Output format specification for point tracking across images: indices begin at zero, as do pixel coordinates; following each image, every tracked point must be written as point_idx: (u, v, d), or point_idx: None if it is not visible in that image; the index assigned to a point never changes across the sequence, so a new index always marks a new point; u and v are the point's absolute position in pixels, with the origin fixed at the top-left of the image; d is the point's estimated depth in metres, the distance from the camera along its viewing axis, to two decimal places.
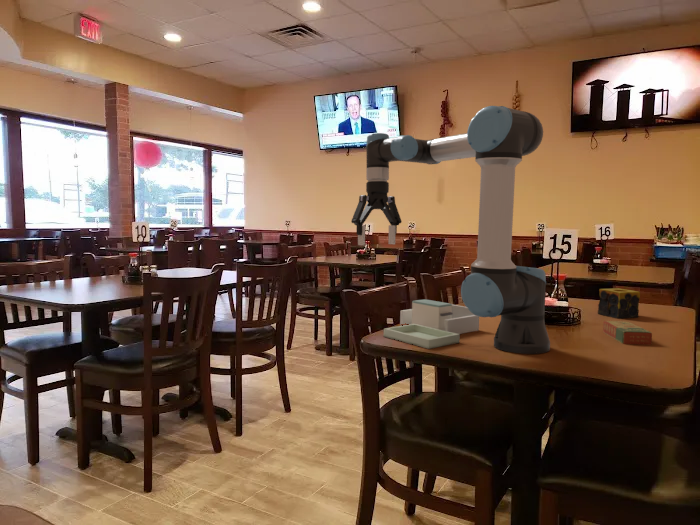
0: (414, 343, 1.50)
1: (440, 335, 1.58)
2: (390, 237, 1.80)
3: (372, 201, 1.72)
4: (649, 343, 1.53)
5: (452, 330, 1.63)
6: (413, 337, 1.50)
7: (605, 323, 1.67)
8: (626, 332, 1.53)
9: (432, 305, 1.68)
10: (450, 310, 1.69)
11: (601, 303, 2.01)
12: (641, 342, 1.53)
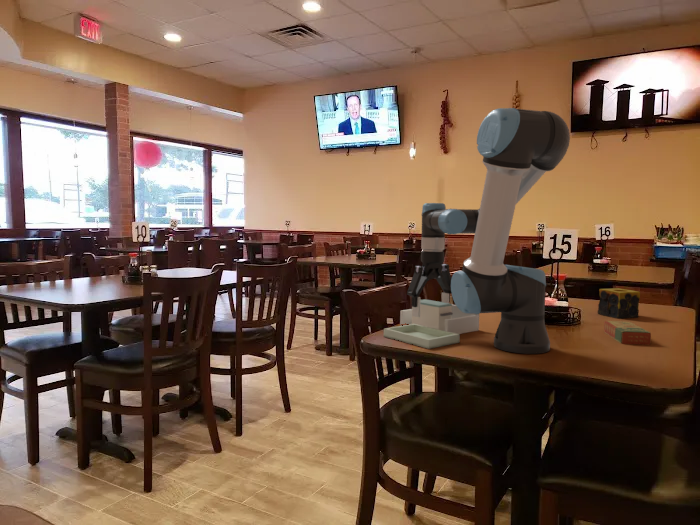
0: (414, 343, 1.50)
1: (440, 335, 1.58)
2: None
3: (427, 272, 1.69)
4: (648, 343, 1.53)
5: (452, 330, 1.63)
6: (413, 337, 1.50)
7: (606, 323, 1.67)
8: (624, 332, 1.53)
9: (432, 305, 1.68)
10: (450, 310, 1.69)
11: (601, 303, 2.01)
12: (640, 342, 1.53)
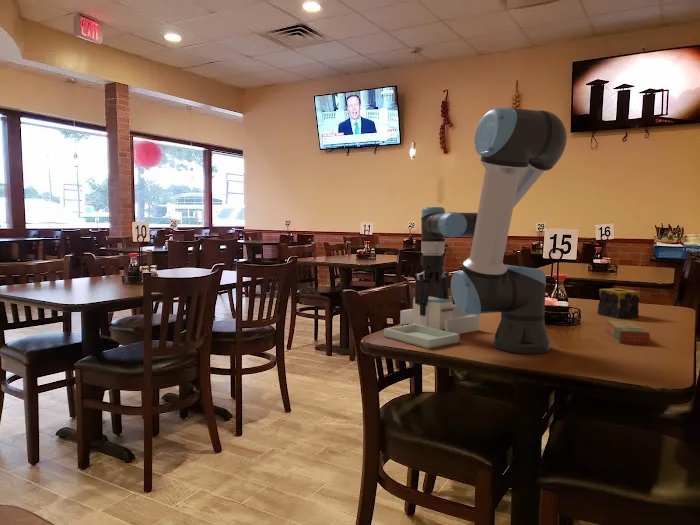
0: (414, 343, 1.50)
1: (440, 335, 1.58)
2: None
3: (428, 276, 1.68)
4: (647, 343, 1.52)
5: (452, 330, 1.63)
6: (413, 337, 1.50)
7: (606, 323, 1.67)
8: (623, 332, 1.54)
9: (433, 301, 1.67)
10: (451, 306, 1.68)
11: (601, 303, 2.01)
12: (639, 342, 1.53)
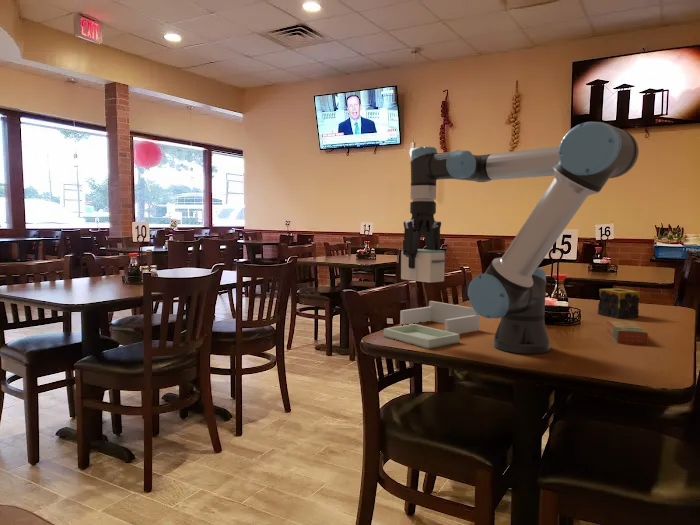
0: (414, 343, 1.50)
1: (440, 335, 1.58)
2: None
3: (417, 224, 1.52)
4: (645, 343, 1.52)
5: (452, 330, 1.63)
6: (413, 337, 1.50)
7: (607, 323, 1.68)
8: (621, 331, 1.54)
9: (423, 251, 1.50)
10: (443, 257, 1.52)
11: (601, 303, 2.01)
12: (637, 342, 1.53)
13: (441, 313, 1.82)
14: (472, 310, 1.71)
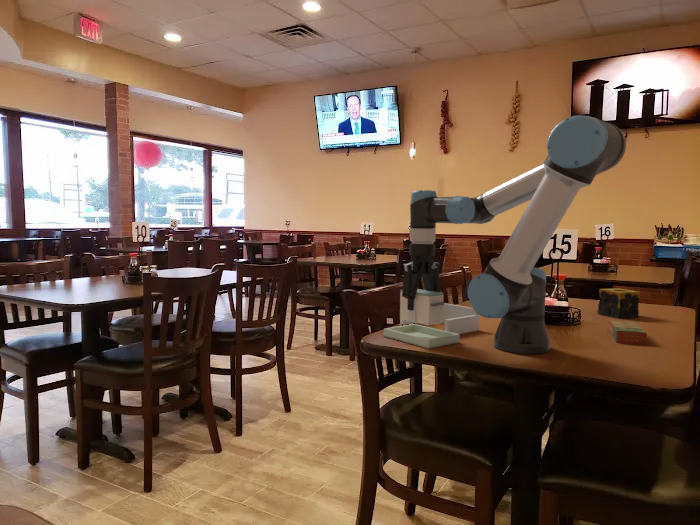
0: (414, 343, 1.50)
1: (440, 335, 1.58)
2: None
3: (417, 266, 1.53)
4: (644, 343, 1.52)
5: (452, 330, 1.63)
6: (413, 337, 1.50)
7: (608, 323, 1.68)
8: (619, 331, 1.54)
9: (422, 294, 1.51)
10: (442, 300, 1.53)
11: (601, 303, 2.01)
12: (636, 342, 1.53)
13: None
14: (472, 310, 1.71)
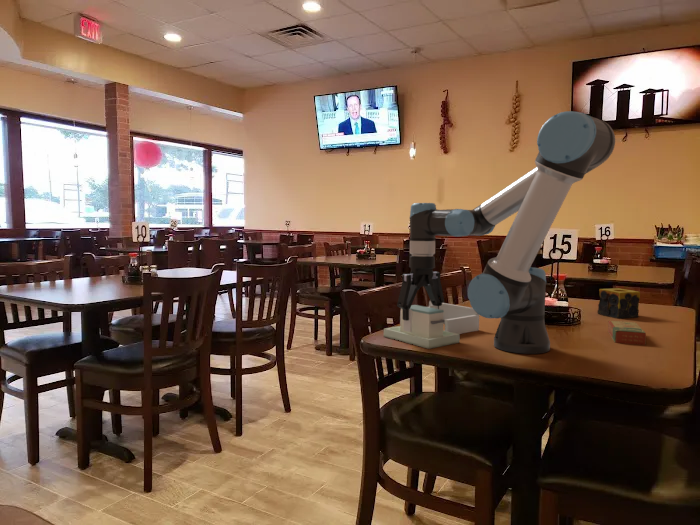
0: (414, 343, 1.50)
1: None
2: None
3: (416, 278, 1.53)
4: (643, 343, 1.52)
5: (452, 330, 1.63)
6: (413, 337, 1.50)
7: (609, 323, 1.68)
8: (618, 331, 1.54)
9: (422, 312, 1.52)
10: (442, 317, 1.53)
11: (601, 303, 2.01)
12: (634, 342, 1.53)
13: None
14: (472, 310, 1.71)
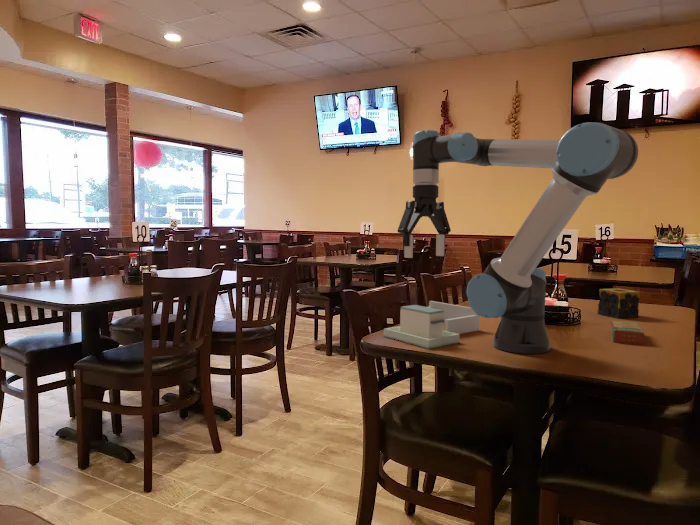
0: (414, 343, 1.50)
1: None
2: (438, 248, 1.59)
3: (420, 207, 1.51)
4: (641, 343, 1.52)
5: (452, 330, 1.63)
6: (413, 337, 1.50)
7: (610, 323, 1.68)
8: (617, 331, 1.55)
9: (422, 312, 1.52)
10: (442, 317, 1.53)
11: (601, 303, 2.01)
12: (633, 342, 1.53)
13: None
14: (472, 310, 1.71)
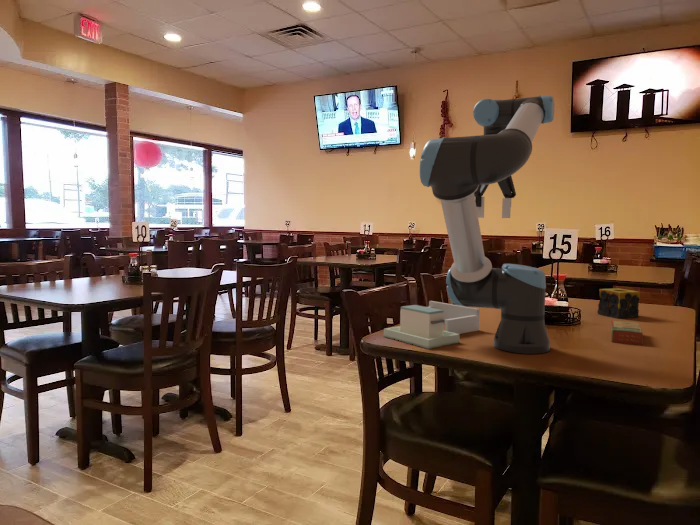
0: (414, 343, 1.50)
1: None
2: (504, 210, 1.72)
3: None
4: (640, 343, 1.52)
5: (452, 330, 1.63)
6: (413, 337, 1.50)
7: None
8: (615, 331, 1.55)
9: (422, 312, 1.52)
10: (442, 317, 1.53)
11: (601, 303, 2.01)
12: (631, 342, 1.53)
13: None
14: (472, 310, 1.71)
